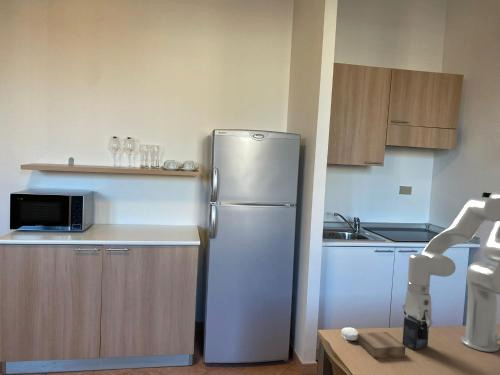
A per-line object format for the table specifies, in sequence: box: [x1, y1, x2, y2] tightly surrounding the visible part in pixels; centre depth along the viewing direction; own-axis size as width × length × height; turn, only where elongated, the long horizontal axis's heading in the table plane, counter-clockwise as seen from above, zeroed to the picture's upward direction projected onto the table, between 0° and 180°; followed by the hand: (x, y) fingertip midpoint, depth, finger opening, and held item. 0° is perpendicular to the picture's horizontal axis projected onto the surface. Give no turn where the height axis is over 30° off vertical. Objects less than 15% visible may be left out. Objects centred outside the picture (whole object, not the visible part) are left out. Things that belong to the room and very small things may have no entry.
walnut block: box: [356, 331, 406, 359], centre depth 138 cm, size 12×12×4 cm
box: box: [401, 316, 430, 351], centre depth 142 cm, size 8×6×11 cm
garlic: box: [340, 327, 360, 343], centre depth 146 cm, size 8×7×4 cm
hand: (415, 334), depth 142 cm, fingers closed on box, 7 cm apart
